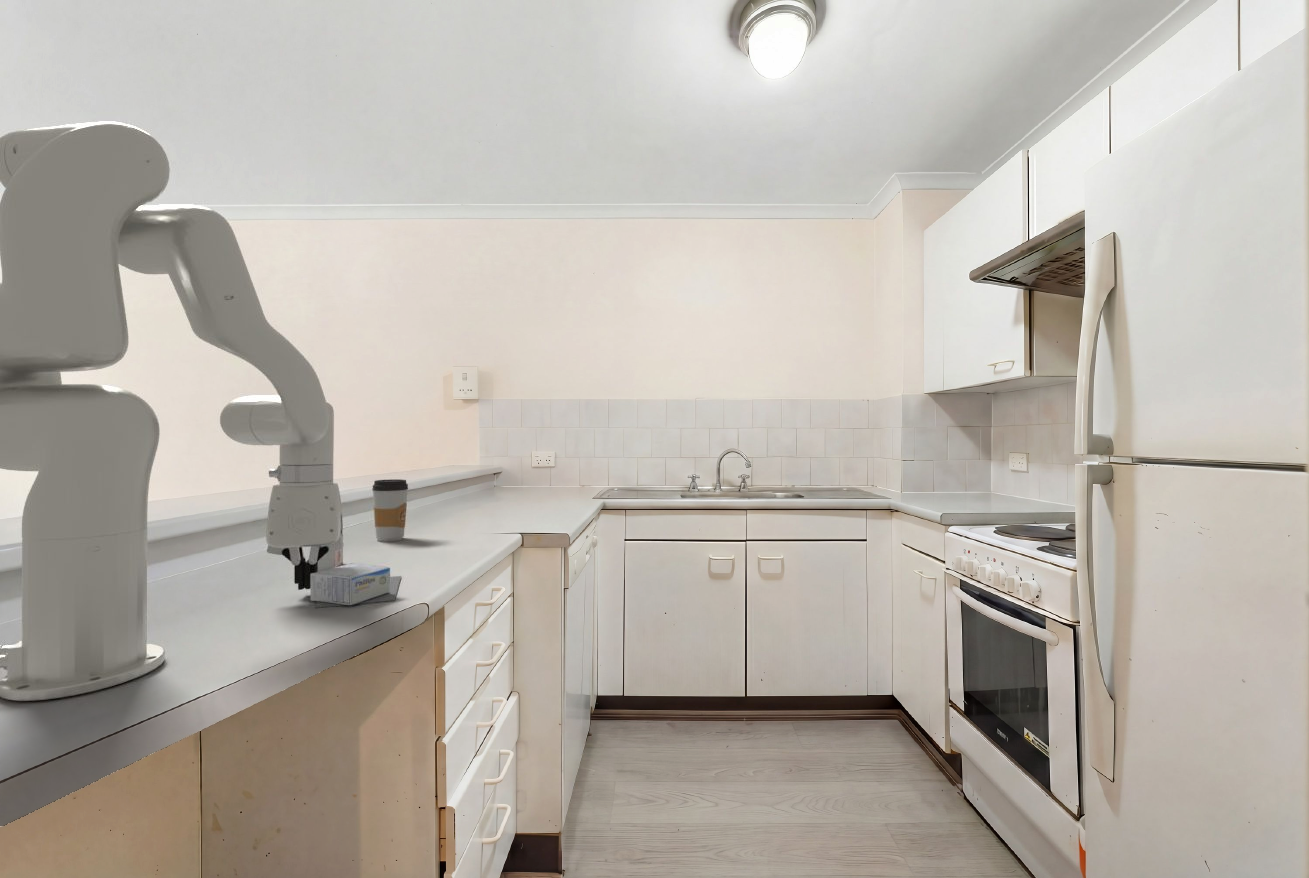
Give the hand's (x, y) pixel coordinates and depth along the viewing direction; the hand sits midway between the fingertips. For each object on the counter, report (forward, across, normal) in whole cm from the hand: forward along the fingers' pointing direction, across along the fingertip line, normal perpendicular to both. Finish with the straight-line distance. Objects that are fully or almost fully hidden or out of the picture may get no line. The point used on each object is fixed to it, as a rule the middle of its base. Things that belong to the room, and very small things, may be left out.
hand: (306, 587), depth 91 cm
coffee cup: (+2, +8, +50) cm, 51 cm away
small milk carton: (+2, -1, +21) cm, 21 cm away
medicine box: (-1, +4, -1) cm, 4 cm away
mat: (+1, +8, 0) cm, 8 cm away
